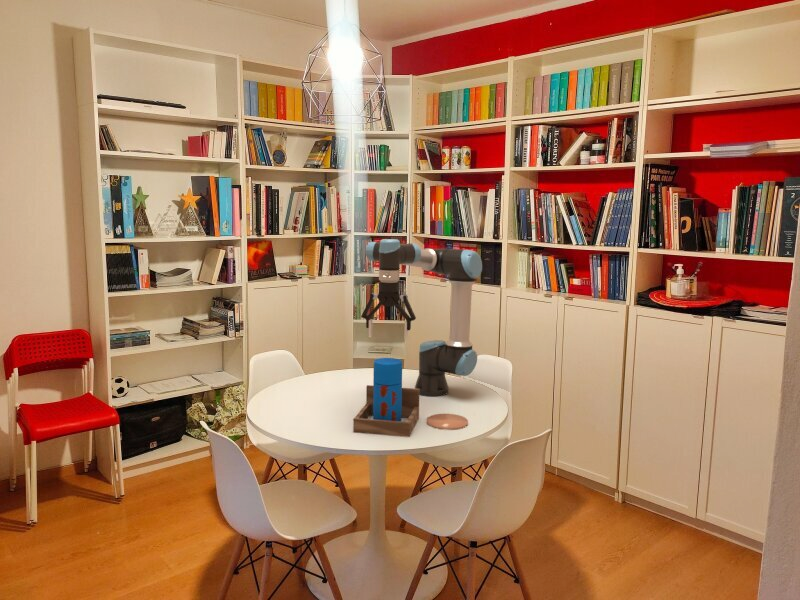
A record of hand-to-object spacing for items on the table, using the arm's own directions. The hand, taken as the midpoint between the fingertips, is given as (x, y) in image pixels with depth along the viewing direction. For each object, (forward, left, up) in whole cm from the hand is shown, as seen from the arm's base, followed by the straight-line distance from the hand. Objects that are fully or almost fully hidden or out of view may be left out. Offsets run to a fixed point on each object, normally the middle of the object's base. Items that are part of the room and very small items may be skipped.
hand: (388, 337), depth 240 cm
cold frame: (0, 0, -34) cm, 34 cm away
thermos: (0, 0, -34) cm, 34 cm away
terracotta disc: (-8, +22, -34) cm, 41 cm away
